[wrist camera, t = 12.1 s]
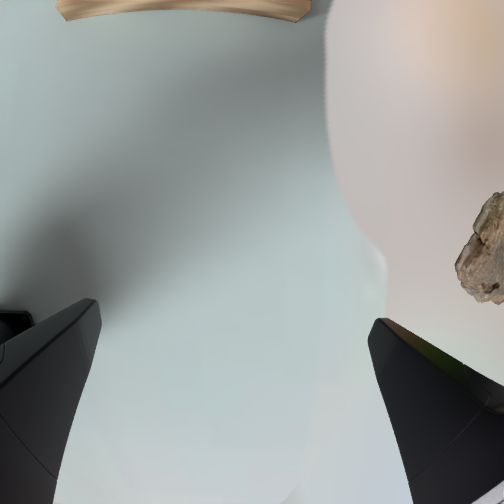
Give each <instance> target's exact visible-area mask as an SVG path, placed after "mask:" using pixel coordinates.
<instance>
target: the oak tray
mask: <svg viewBox="0 0 504 504" xmlns="http://www.w3.org/2000/svg"><path fill="white" fill-rule="evenodd" d="M56 8H57V10H58V11H59V12H60V13H61V15H62V16H63V17H64V18H65V20H66V21H69V20H74V19H79V18H85V17H90V16H97V15H103V14H111V13H119V12H130V11H143V10H170V9H183V10H210V11H224V12H234V13H243V14H251V15H258V16H264V17H270V18H276V19H281V20H287V21H291V22H297V21H298V20H299V19H300V18H302V17H303V16H304V15H305V14H306V13H308V12H309V11H310V10H311V0H58V1H57V4H56Z"/></svg>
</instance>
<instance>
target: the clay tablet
mask: <svg viewBox="0 0 504 504" xmlns="http://www.w3.org/2000/svg"><path fill="white" fill-rule="evenodd" d="M473 230H474V232H475V233H474V234H473V235H472V236H471V238H470V240H469V241H468V243H467V244H466V245H465V246H464V248H463V250H462V252H461V253H460V255H459V257H458V259H457V261H456V263H455V269H456V272H457V276H458V279H459V280H460V281H461V286H462V287H463V288H464V289H465V290H466V291H467V293H468V294H470V295H471V296H474V297H475V298H476V301H477V302H478V303H479V302H481V303H483V302H487V301H490V300H492V301H493V302H494V303H495V304H497V305H500V304H501V303H503V302H504V192H502V193H498V192H497V193H494V194H493V196H492V197H491V198H489V199H488V201H486V203H485V204H484V205H483V206H482V209H481V212H480V213H479V215H478V217H477V218H476V220H475V222H474V224H473Z"/></svg>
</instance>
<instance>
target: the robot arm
mask: <svg viewBox="0 0 504 504" xmlns="http://www.w3.org/2000/svg"><path fill="white" fill-rule="evenodd" d="M25 317H26V318H27V319H25ZM101 326H102V321H101V316H100V310H99V304H98V302H97V300H95V299H89V298H84V299H82V300H81V301H79V302H77V303H75V304H73V305H71V306H69V307H68V308H66V309H64V310H62V311H60V312H58V313H57V314H55V315H53V316H51V317H49V318H48V319H46V320H44V321H42V322H40V323H39V324H37V325H35V326H34V323H33V320H32V317H31V315H30V314H29V313H28V312H27V311H1V310H0V504H53V499H54V494H55V489H56V484H57V479H58V475H59V470H60V466H61V462H62V458H63V454H64V450H65V447H66V443H67V439H68V436H69V432H70V429H71V426H72V422H73V419H74V416H75V413H76V409H77V406H78V403H79V400H80V397H81V394H82V391H83V388H84V386H85V383H86V380H87V377H88V374H89V371H90V368H91V365H92V361H93V357H94V353H95V349H96V345H97V342H98V338H99V334H100V331H101ZM368 346H369V350H370V354H371V358H372V362H373V367H374V371H375V375H376V379H377V382H378V385H379V388H380V391H381V394H382V396H383V400H384V402H385V405H386V408H387V412H388V415H389V418H390V421H391V424H392V427H393V430H394V434H395V437H396V440H397V444H398V447H399V451H400V454H401V457H402V461H403V465H404V468H405V472H406V475H407V479H408V481H409V482H408V484H409V488H410V492H411V496H412V500H413V504H504V386H502V385H500V384H498V383H496V382H494V381H493V380H491V379H489V378H487V377H485V376H484V375H482V374H480V373H478V372H476V371H475V370H473V369H472V368H470V367H468V366H467V365H465V364H464V365H463V363H462V362H460V361H458V360H457V359H455V358H453V357H452V356H450V355H448V354H447V353H445V352H443V351H442V350H440V349H439V348H437V347H435V346H434V345H432V344H430V343H429V342H427V341H425V340H424V339H422V338H420V337H419V336H417V335H415V334H414V333H412V332H410V331H409V330H407V329H405V328H404V327H402V326H400V325H399V324H397V323H395V322H394V321H392V320H390V319H389V318H377V319H376V320H375V322H374V324H373V327H372V329H371V331H370V334H369V336H368Z"/></svg>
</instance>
